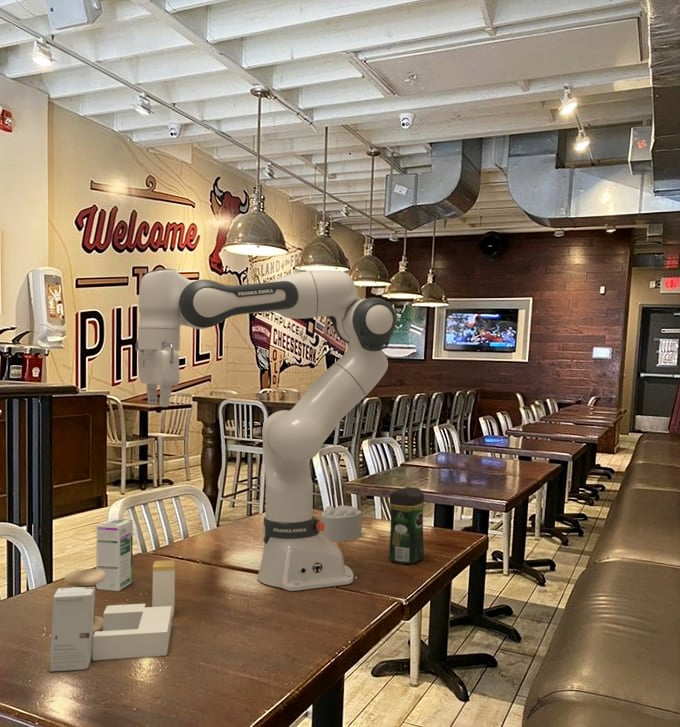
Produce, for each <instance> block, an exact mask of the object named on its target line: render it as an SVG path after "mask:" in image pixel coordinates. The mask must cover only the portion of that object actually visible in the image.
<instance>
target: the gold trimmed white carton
mask: <svg viewBox="0 0 680 727" xmlns="http://www.w3.org/2000/svg"><path fill="white" fill-rule="evenodd" d="M176 562H177V560H176V559H173V560H171V559H170V560H169V559H168V560H154V563H153V566H152V600H151V601H152V602H151V607H163V606H172V618H174V614H175V601H176V600H175V599H176V598H175V596H176V595H175V594H176V593H175V592H176V591H175V590H176V589H175V588H176V587H175V586H176Z"/></svg>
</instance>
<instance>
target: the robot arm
mask: <svg viewBox="0 0 680 727" xmlns="http://www.w3.org/2000/svg"><path fill="white" fill-rule="evenodd" d="M139 284H140V286H139V292H138V293H139V294H138V311H139V312H138V313H139V316H140V317H139V319H140V320H139V324H138V334H137V335H138V336H137V340H136V342H135V351H137V352H138V355H137V362H138V363H137V364H138V365H137V366H138V377H139V381H140V383H141V384H146V386H145V389H146V394H147V404H148V405H158V406H160V407H161V408H168V407H169V406H170V398H171V395H172V392H173V391H172V389H173V387H174V386H179V383H180V359H179V351H180V347H181V345H180V343H181V342H180V340H181V338H180V337H181V336H180V335H181V327H182V326H185V327H189V328H192V329H194V330H204V329H207V328H212V327H215V326H217V325H219V324H220V323H222V322H223V321H225V320H227V319H228V318H231V317H233V316H239V315H247V314H248V315H249V314H256V313H266V312H269V313H275V314H279V315H280V316H281V317H284V318H285V319H312V318H318V317H327V316H328V317H329V319H330V321H331V323H332V326H333V329H334V331H335V332H334V333H335V334H336V336H337V337H338V338H339V339H340V340H341V341H343V342H345V343H347V344H348V346H347V348H346V351H345V352H344V354H343V355H342V356H341V357H340V358H339V359H337V361H335V362H334V363H333V364H332V365H331V366H330V367H329V368H327V370H325V372H323V373H322V374H321V375H320V376H319V377H318V378H317V379H316V380H315V381H313V382H312V383H311V384H310V385H309V387H308V389H307V390H306V391H305V393H304V394H303V396H301V398H300V399H299V400H298V401H297V403H296V404H295V405H294V406H293V407H292V408H291V409H290V410H286V409H283V410H278V411H276V412H274V413H272V414H271V415H269V416H268V417H267V418H266V419H265V421H264V423H263V426H262V430H261V434H262V436H261V437H262V452H263V465H264V468H263V469H264V475H265V476H264V477H265V516H264V518H263V523H262V539H263V540H262V541H263V543H264V544H263V551H262V556H261V557H262V558H261V562H260V566H259V571H258V573H257V576H256V577H257V580H258V581H259V582H260V583H262V584H265V585H266V586H267V585H268V586H271V587H276V588H281V589H284V590H286V591H289V592H294V591H296V592H297V591H302V590H303V591H304V590H311V589H318V588H328V587H335V586H344V585H349V584H352V583H353V582H354V579H355V578H354V572H353V570H352V569H351V568H350V567H349V566H348V565H346V564H345V561H344V556H343V553H342V551H341V549H340V547H339V546H338V545H337V544H336V543H333V542H331V541H330V540H329V539H328V538H326V537H325V536H324V535H323V534H321V532H322V531H324V530H323V529H325V525H324V523H323V522H321V519H319V518H317V517H316V516H314V515H313V508H314V507H313V505H314V504H313V503H314V502H313V500H314V499H313V498H314V497H313V496H314V484H313V480H312V475H311V470H310V469H311V468H310V462H309V461H310V460H312V459H313V458H315V457H316V456H317V455H318V453H319V452H320V450H321V448H322V445H323V444H324V443H325V441H326V440H327V439H328V438H329V436H330V435H331V434H332V433H333V431H334V430H335V429H336V427H338V426H337V425H339V423H340V422H341V421H342V420H343V418H345V416H346V415H348V414H349V413H350V412H351V411H352V410H353V409H354V408H356V406H357V405H358V404H359V403H360V402H361V401H362V400H363V399H364V398H365V397H366V396H367V395H368V394H369V393H370V392H371V391H372V390H373V389H374V388H375V387H376V386H377V384H378V383H379V382H380V380H381V379H382V378H383V377H384V375H385V374H386V372H387V370H388V367H389V362H388V357H387V355H386V353H385V352H384V351H383V350H384V349H386V348H387V347H388V346H389V343H390V341H391V337H392V336H393V333H394V332H395V329H396V326H397V321H398V318H397V313H396V310H395V309H394V307H393V306H392V304H390V303H389V302H388V301H386V300H384V299H382V298H379V297H367V298H361V297H360V296H359V295H358V294H357V290H356V284H355V281H354V280H353V278H352V277H351V276H350V275H349V273H347V272H345V271H340V270H329V269H325V270H323V269H321V270H308V271H307V270H305V271H298V272H294V273H290V274H286V275H283V276H280V277H278V278H275V279H274V280H270V281H268V282H260V283H251V284H238V285H236V284H235V285H228V284H224V283H220V282H217V281H214V280H212V279H211V280H210V279H198V280H194V281H193V280H190V279H189V278H187V277H185V276H184V275H182V274H181V273H180V272H178V271H177V270H176V269H174V268H159V269H154V270H150V271H148V272H147V273H145V274H144V275H143V276H142V278H141V280H140V283H139ZM158 386H159V391H160V394H159V398H158V396H157V389H158ZM158 399H159V400H158ZM158 402H159V403H158Z"/></svg>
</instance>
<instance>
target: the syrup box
mask: <svg viewBox="0 0 680 727" xmlns="http://www.w3.org/2000/svg"><path fill="white" fill-rule="evenodd" d="M133 524H134V523H133V520H132V519H127V518H110V519H108V520H106V521H103V522H101V523H98V524H96V544H95V545H96V552H95V553H96V554H95V555H96V559H95V560H96V561H95V562H96V563H95V564H96V568H95V569H99V570H102V571H104V572H105V579H104V581H102V582H100V583H98V584H95V589H97V590H101V591H111V592H112V591H113V592H120V591H121V590H122V589H124V588H126V587H127V586H129V585H131V584H132V583H133V580H134V578H133V571H134V570H133V557H134V556H133V543H134V541H133V539H134V538H133V534H134V533H133V532H134V531H133V530H134V529H133V528H134V527H133Z"/></svg>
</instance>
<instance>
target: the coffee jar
mask: <svg viewBox="0 0 680 727" xmlns="http://www.w3.org/2000/svg"><path fill="white" fill-rule="evenodd" d="M424 496H425V495H424V492H423V491H422V490H421V488H419V487H413V486H412V487H411V486H405V487H404V488H401V489H399V490H395V491H393V492H391V493H390V494H389V510H390V534H389V536H390V537H389V547H388V548H389V549H388V550H389V551H388V552H389V553H388V556H389V557H388V559H389V560H390V561H392V562H395V563H396V564H401V565H404V564H409V565H412V564H415V563H418V562H419V561H420V560H422V559H423V558H424V555H425V552H424V551H425V550H424V549H425V548H424V547H425V546H424V545H425V544H424V506H425V500H424V498H425V497H424Z"/></svg>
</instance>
